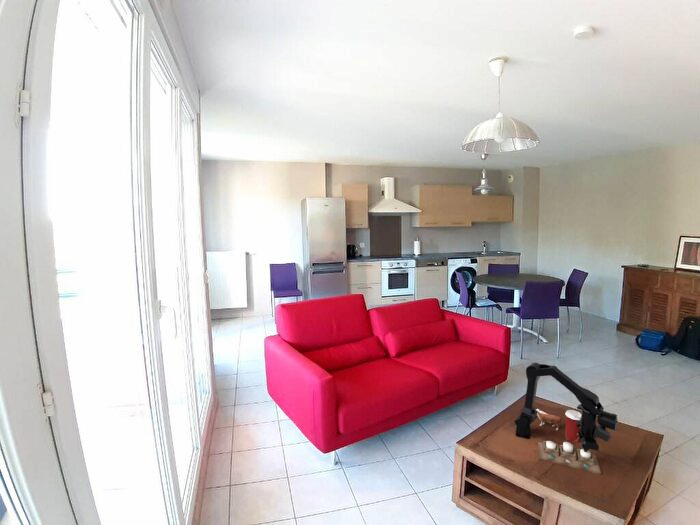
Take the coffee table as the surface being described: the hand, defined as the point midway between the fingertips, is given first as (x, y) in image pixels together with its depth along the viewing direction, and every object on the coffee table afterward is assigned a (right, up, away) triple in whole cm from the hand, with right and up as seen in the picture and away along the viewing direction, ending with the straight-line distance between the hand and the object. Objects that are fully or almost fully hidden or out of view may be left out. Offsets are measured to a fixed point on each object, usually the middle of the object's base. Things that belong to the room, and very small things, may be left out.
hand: (585, 451), depth 161 cm
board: (-7, -5, +3) cm, 9 cm away
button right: (0, -4, 0) cm, 4 cm away
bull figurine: (-2, -2, +28) cm, 28 cm away
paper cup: (+5, -3, +17) cm, 18 cm away
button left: (-13, -3, +6) cm, 14 cm away
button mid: (-6, -2, +3) cm, 7 cm away
